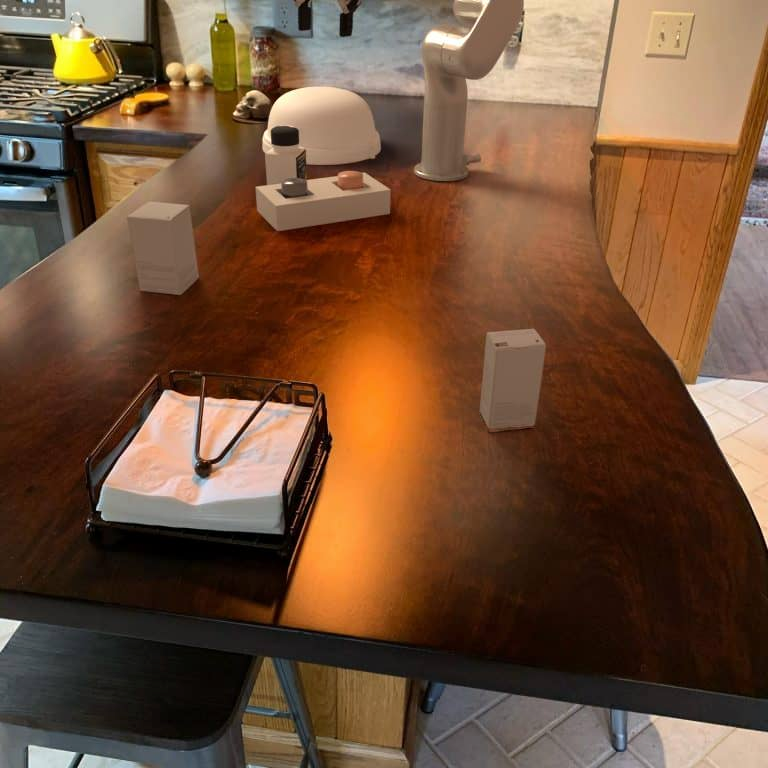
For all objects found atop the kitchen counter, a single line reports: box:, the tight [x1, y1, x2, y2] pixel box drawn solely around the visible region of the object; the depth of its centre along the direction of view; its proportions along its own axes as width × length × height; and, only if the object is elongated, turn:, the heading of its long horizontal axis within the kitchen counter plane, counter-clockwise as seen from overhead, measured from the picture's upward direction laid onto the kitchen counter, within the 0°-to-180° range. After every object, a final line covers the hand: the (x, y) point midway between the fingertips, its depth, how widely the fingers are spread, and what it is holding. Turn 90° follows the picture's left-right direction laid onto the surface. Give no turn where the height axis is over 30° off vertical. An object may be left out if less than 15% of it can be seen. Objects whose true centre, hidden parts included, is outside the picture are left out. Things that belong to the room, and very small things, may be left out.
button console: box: [255, 172, 391, 232], centre depth 154 cm, size 24×12×5 cm, turn 117°
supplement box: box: [126, 201, 200, 296], centre depth 122 cm, size 7×7×13 cm
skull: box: [231, 89, 272, 124], centre depth 217 cm, size 12×10×10 cm
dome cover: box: [262, 86, 382, 166], centre depth 191 cm, size 32×30×14 cm
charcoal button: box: [281, 178, 308, 199], centre depth 150 cm, size 5×5×4 cm
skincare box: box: [479, 328, 547, 429], centre depth 91 cm, size 6×4×12 cm
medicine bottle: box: [264, 125, 308, 185], centre depth 168 cm, size 7×7×12 cm
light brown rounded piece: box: [337, 170, 363, 191], centre depth 155 cm, size 5×5×4 cm
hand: (324, 33), depth 146 cm, fingers open, 9 cm apart
